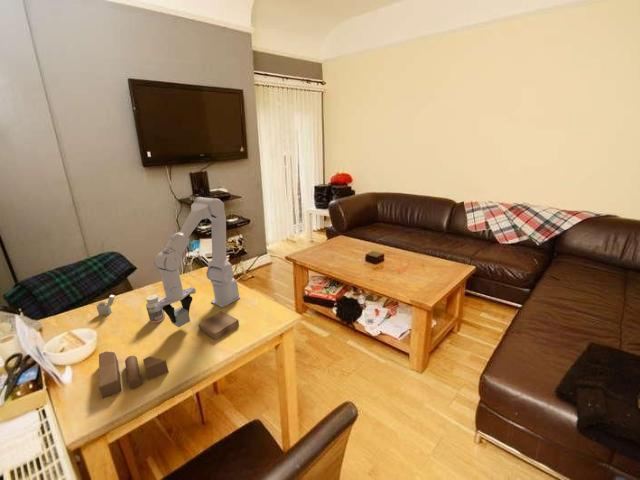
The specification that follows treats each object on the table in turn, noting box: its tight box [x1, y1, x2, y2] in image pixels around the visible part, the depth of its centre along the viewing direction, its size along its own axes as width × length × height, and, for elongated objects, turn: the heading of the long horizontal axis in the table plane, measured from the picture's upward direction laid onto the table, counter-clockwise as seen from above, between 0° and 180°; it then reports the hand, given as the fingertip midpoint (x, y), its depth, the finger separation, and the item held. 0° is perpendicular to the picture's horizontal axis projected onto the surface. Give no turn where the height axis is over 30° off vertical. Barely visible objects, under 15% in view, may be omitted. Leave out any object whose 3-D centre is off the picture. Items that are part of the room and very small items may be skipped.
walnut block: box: [197, 310, 240, 341], centre depth 115 cm, size 10×10×3 cm
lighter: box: [96, 294, 116, 316], centre depth 127 cm, size 7×2×8 cm, turn 98°
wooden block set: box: [97, 351, 169, 400], centre depth 97 cm, size 17×6×18 cm
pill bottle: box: [145, 294, 166, 324], centre depth 121 cm, size 5×5×10 cm
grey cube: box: [171, 306, 191, 328], centre depth 114 cm, size 4×4×4 cm
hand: (180, 318), depth 115 cm, fingers closed on grey cube, 4 cm apart
